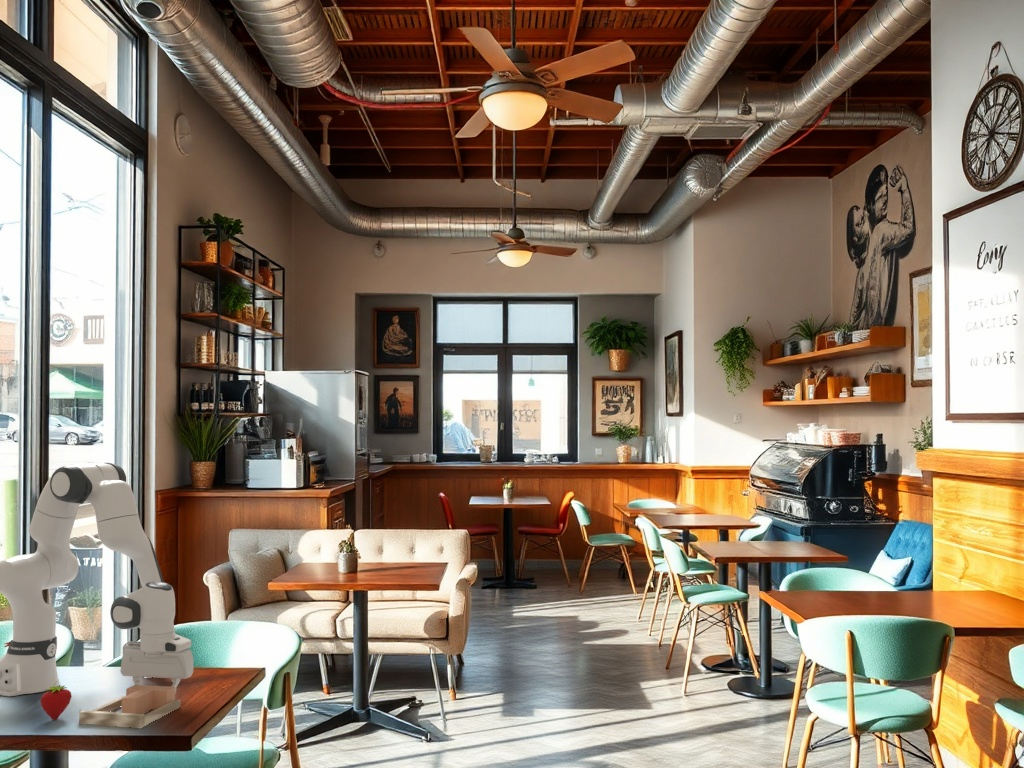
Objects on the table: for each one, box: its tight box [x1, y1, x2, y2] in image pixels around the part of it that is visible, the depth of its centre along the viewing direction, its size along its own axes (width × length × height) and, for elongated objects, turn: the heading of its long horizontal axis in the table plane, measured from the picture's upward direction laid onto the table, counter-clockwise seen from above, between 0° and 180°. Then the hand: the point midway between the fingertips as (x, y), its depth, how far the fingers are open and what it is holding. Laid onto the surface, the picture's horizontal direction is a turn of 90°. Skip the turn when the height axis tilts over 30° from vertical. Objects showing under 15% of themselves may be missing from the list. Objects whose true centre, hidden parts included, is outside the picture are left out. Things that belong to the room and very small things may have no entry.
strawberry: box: [40, 683, 72, 721], centre depth 231 cm, size 6×8×10 cm
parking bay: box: [78, 695, 181, 729], centre depth 235 cm, size 18×18×3 cm
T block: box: [121, 684, 176, 714], centre depth 239 cm, size 12×12×5 cm
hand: (156, 693), depth 245 cm, fingers open, 8 cm apart
